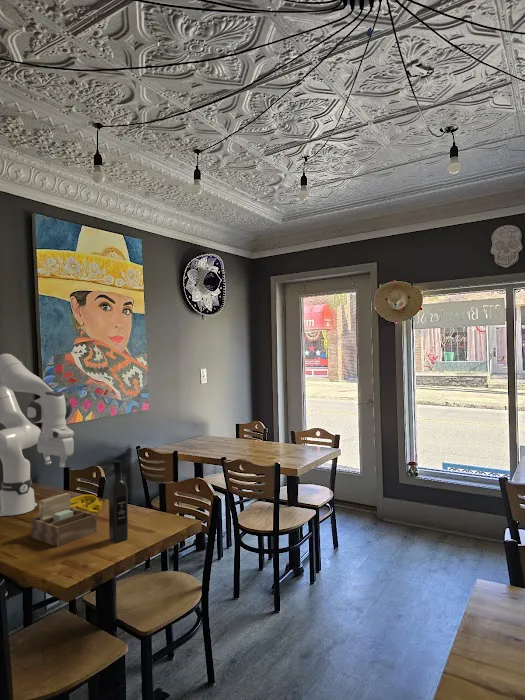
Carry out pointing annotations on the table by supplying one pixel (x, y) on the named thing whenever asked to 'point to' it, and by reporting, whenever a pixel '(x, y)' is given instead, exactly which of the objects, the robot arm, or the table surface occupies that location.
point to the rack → (64, 528)
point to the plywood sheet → (53, 505)
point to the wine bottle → (118, 506)
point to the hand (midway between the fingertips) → (55, 465)
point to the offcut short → (62, 515)
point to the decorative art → (81, 505)
